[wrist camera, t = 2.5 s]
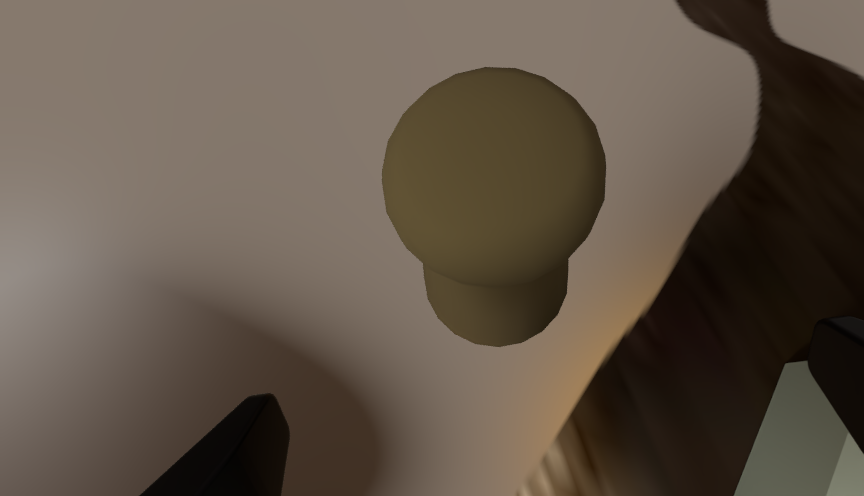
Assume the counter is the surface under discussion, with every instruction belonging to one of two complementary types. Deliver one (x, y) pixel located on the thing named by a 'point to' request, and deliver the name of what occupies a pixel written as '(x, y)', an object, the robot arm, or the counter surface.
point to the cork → (494, 198)
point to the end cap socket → (802, 445)
